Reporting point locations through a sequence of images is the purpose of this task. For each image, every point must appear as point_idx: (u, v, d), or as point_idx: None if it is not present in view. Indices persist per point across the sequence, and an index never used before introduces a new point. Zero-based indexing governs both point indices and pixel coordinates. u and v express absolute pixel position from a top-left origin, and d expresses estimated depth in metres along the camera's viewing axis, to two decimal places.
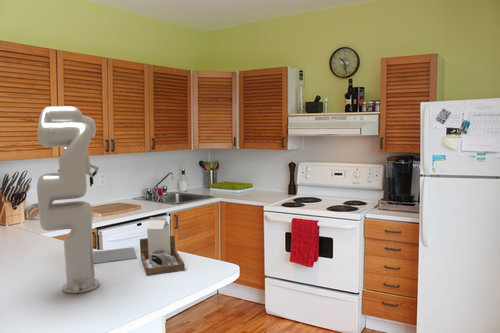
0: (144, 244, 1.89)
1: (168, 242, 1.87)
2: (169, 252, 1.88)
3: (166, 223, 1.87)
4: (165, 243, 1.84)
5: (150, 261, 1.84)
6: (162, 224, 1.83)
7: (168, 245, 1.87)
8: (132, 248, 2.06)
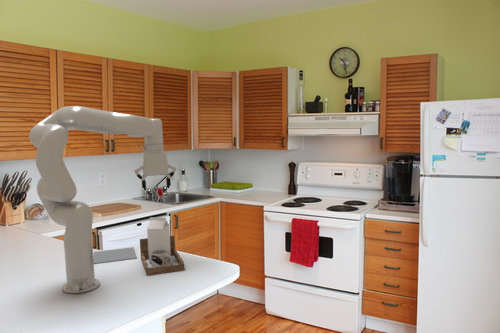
0: (144, 244, 1.89)
1: (168, 242, 1.87)
2: (169, 252, 1.88)
3: (166, 223, 1.87)
4: (165, 243, 1.84)
5: (150, 261, 1.84)
6: (162, 224, 1.83)
7: (168, 245, 1.87)
8: (132, 248, 2.06)
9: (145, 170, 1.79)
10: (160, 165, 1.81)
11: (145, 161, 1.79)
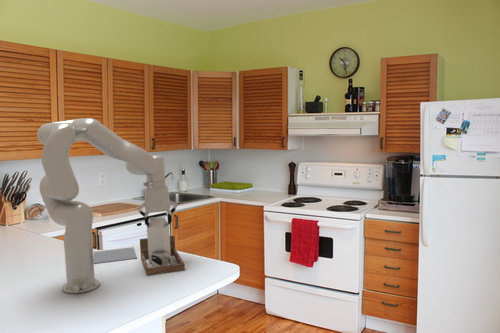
0: (144, 244, 1.89)
1: (168, 242, 1.87)
2: (169, 252, 1.88)
3: (166, 223, 1.87)
4: (165, 243, 1.84)
5: (150, 261, 1.84)
6: (162, 224, 1.83)
7: (168, 245, 1.87)
8: (132, 248, 2.06)
9: (147, 207, 1.81)
10: (162, 202, 1.82)
11: (147, 198, 1.80)
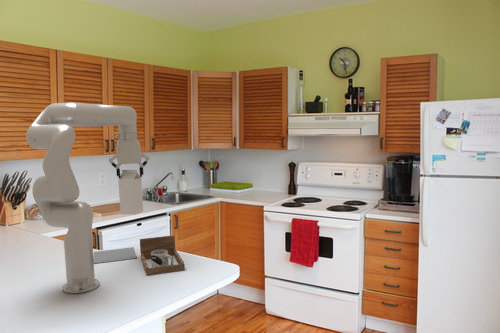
0: (144, 244, 1.89)
1: (140, 194, 1.90)
2: (141, 204, 1.91)
3: (138, 176, 1.90)
4: (136, 195, 1.87)
5: (121, 212, 1.87)
6: (133, 176, 1.86)
7: (140, 197, 1.90)
8: (132, 248, 2.06)
9: (118, 158, 1.84)
10: (133, 153, 1.86)
11: (118, 149, 1.84)
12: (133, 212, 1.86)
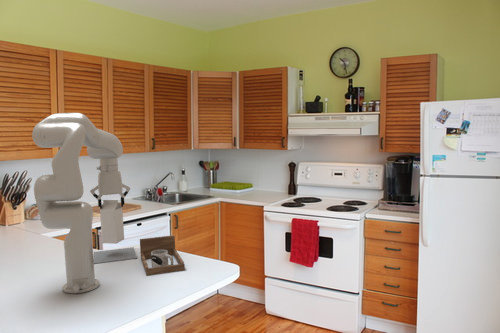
0: (144, 244, 1.89)
1: (121, 223, 1.96)
2: (122, 233, 1.97)
3: (119, 205, 1.96)
4: (118, 225, 1.94)
5: (103, 241, 1.93)
6: (114, 206, 1.92)
7: (121, 226, 1.96)
8: (132, 248, 2.06)
9: (100, 189, 1.90)
10: (114, 185, 1.92)
11: (99, 181, 1.90)
12: (114, 241, 1.92)
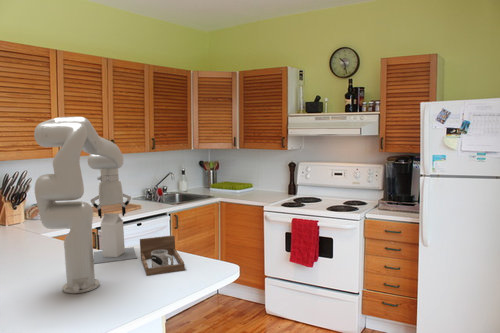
0: (144, 244, 1.89)
1: (121, 237, 1.97)
2: (123, 246, 1.98)
3: (120, 219, 1.97)
4: (118, 238, 1.94)
5: (104, 255, 1.94)
6: (115, 220, 1.93)
7: (121, 240, 1.97)
8: (132, 248, 2.06)
9: (100, 200, 1.91)
10: (115, 195, 1.92)
11: (100, 191, 1.90)
12: (115, 255, 1.93)
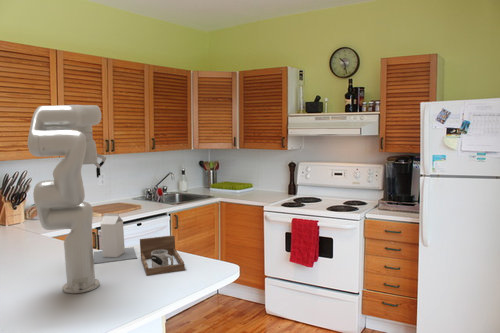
0: (144, 244, 1.89)
1: (121, 237, 1.97)
2: (123, 246, 1.98)
3: (119, 219, 1.97)
4: (118, 238, 1.94)
5: (104, 255, 1.94)
6: (115, 220, 1.93)
7: (121, 240, 1.97)
8: (132, 248, 2.06)
9: None
10: (88, 154, 1.80)
11: None
12: (115, 255, 1.93)
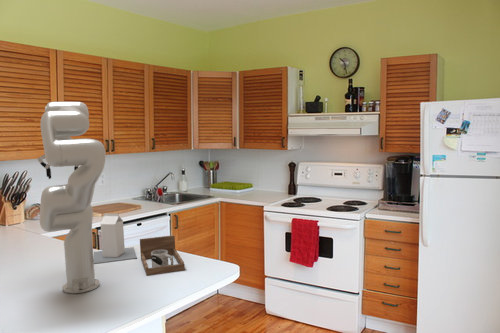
0: (144, 244, 1.89)
1: (121, 237, 1.97)
2: (123, 246, 1.98)
3: (119, 219, 1.97)
4: (118, 238, 1.94)
5: (104, 255, 1.94)
6: (115, 220, 1.93)
7: (121, 240, 1.97)
8: (132, 248, 2.06)
9: None
10: None
11: None
12: (115, 255, 1.93)
